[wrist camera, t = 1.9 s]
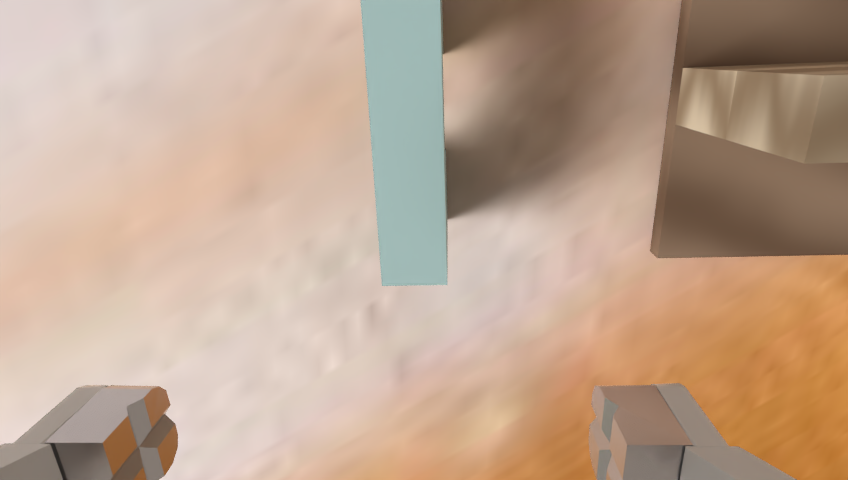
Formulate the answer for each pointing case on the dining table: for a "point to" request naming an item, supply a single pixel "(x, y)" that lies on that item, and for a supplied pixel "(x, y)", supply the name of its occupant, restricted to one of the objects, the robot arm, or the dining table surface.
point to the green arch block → (407, 137)
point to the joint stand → (756, 131)
